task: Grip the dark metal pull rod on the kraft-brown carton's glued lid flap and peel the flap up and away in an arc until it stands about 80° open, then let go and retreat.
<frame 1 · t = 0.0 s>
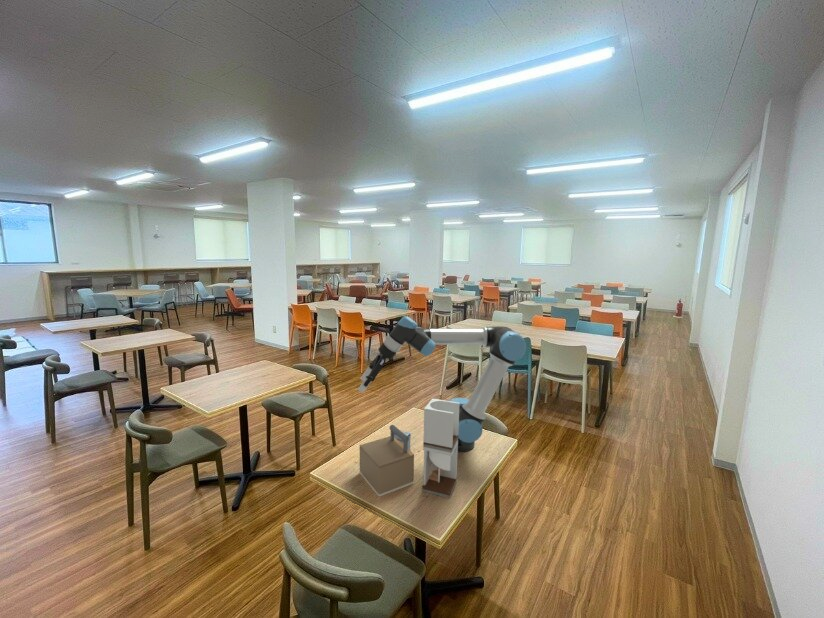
hand: (361, 385, 159), 36 cm above the table, tool tilted 35°, fingers open, 13 cm apart
lid flap: (386, 442, 149), point 16 cm above the table, hinge at 0.0°
carton: (386, 478, 152), on the table
white tower: (439, 487, 147), on the table
medicine box: (401, 450, 174), on the table
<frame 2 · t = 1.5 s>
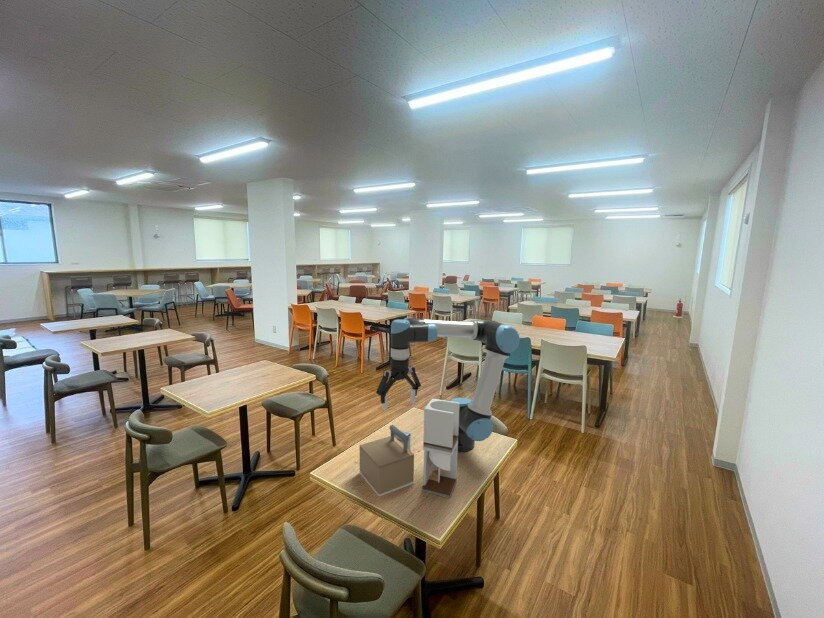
hand: (398, 406, 150), 30 cm above the table, tool pointing down, fingers open, 13 cm apart
nothing on the table moved.
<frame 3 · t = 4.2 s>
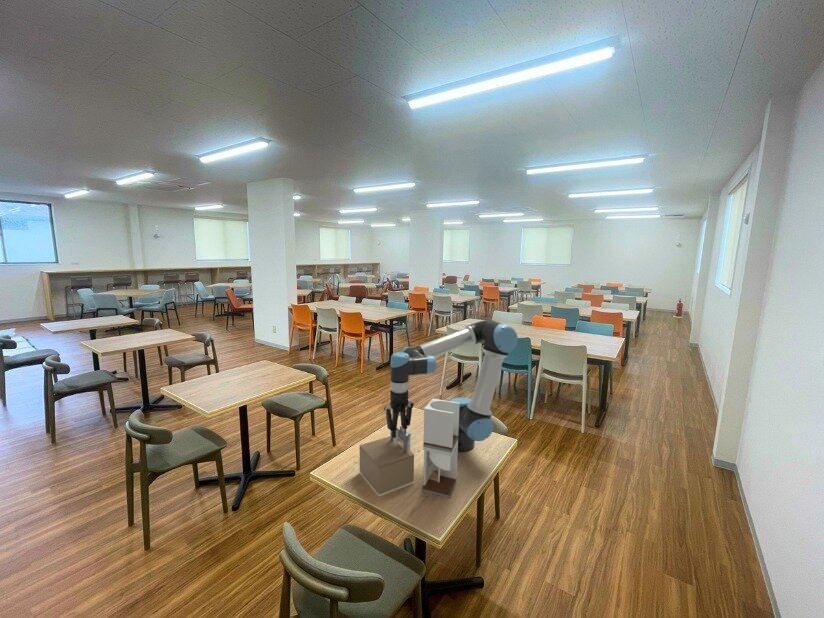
hand: (398, 442, 153), 14 cm above the table, tool pointing down, fingers closed on lid flap, 2 cm apart
lid flap: (386, 442, 149), point 16 cm above the table, hinge at 0.0°, touching gripper
everything else where it was.
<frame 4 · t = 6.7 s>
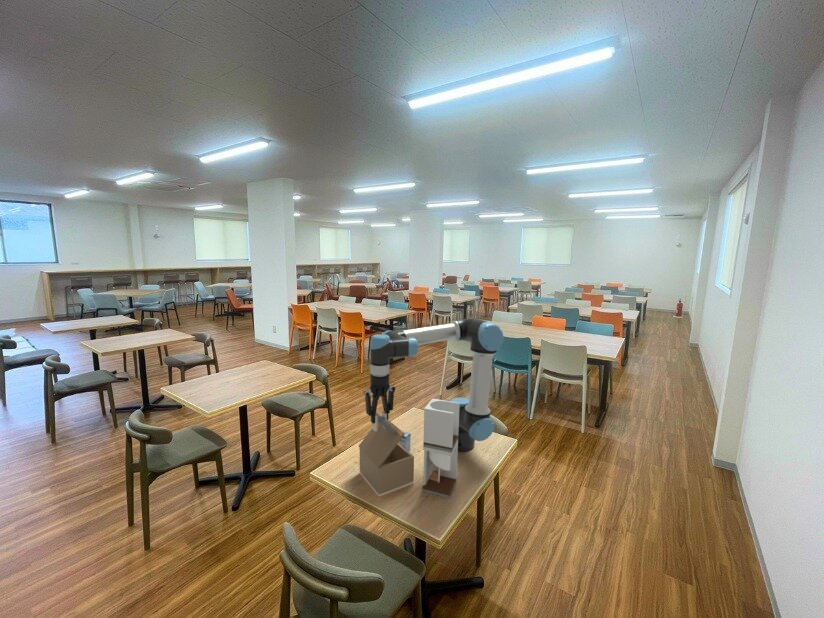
hand: (379, 428, 147), 23 cm above the table, tool pointing down, fingers open, 3 cm apart
lid flap: (375, 435, 146), point 20 cm above the table, hinge at 44.0°, touching gripper
everything else where it was.
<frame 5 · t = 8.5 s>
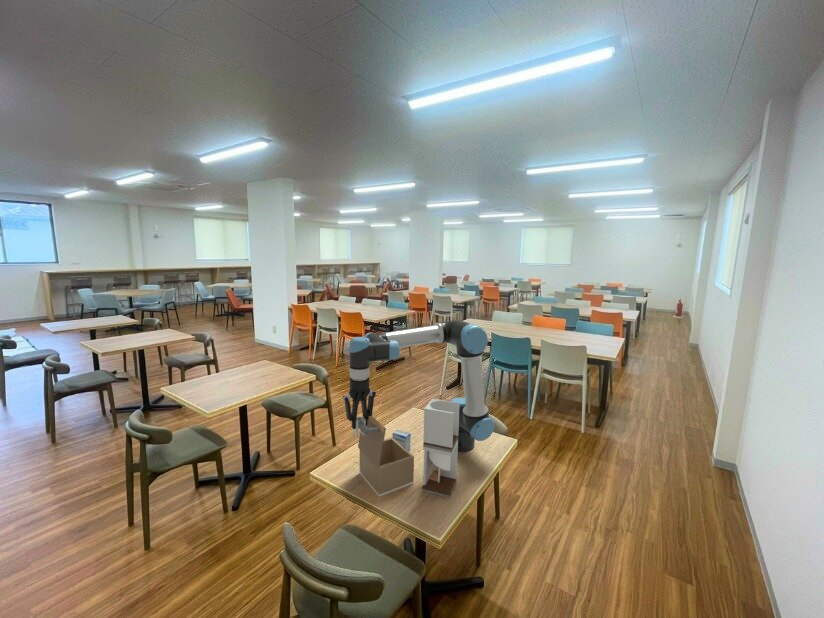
hand: (359, 434, 142), 23 cm above the table, tool pointing down, fingers closed on lid flap, 2 cm apart
lid flap: (363, 438, 143), point 21 cm above the table, hinge at 79.6°, touching gripper
everything else where it was.
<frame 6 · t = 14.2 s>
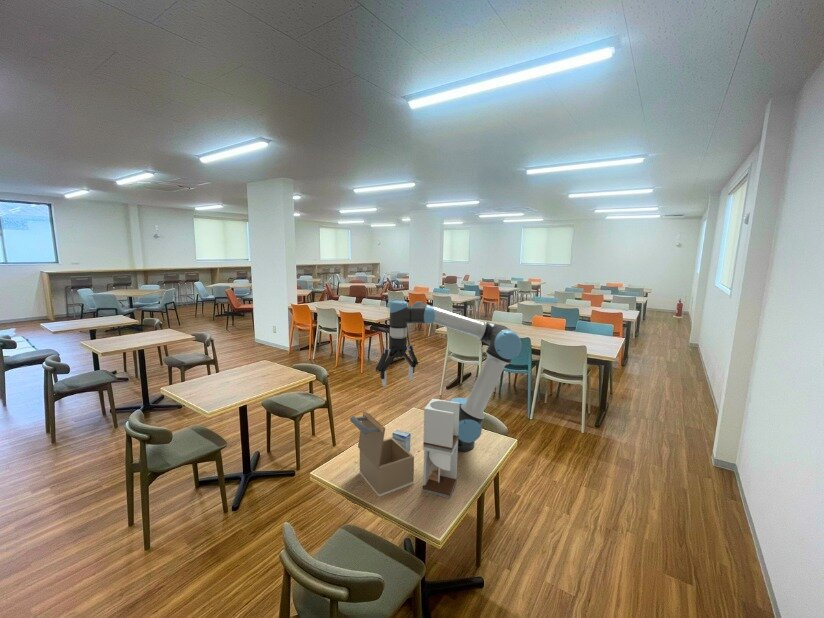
hand: (397, 383, 160), 37 cm above the table, tool pointing down, fingers open, 13 cm apart
lid flap: (363, 439, 143), point 21 cm above the table, hinge at 80.5°
everything else where it was.
at the end: lid flap at +80° (first picture: +0°); white tower moved 0.2 cm from its start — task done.
